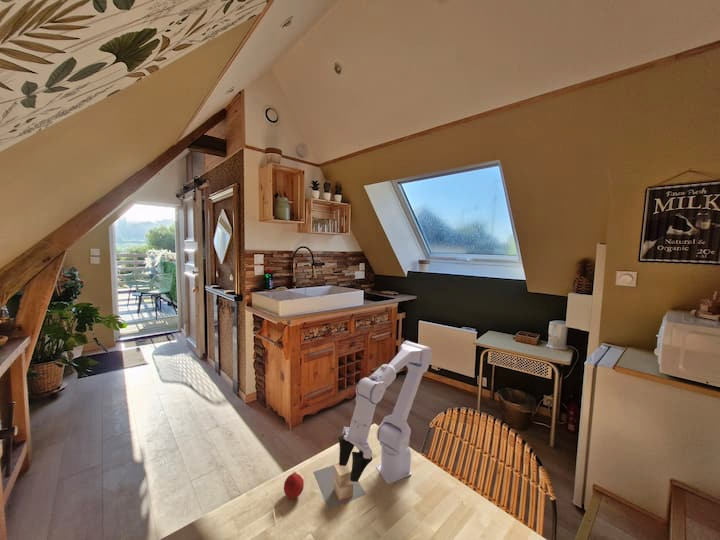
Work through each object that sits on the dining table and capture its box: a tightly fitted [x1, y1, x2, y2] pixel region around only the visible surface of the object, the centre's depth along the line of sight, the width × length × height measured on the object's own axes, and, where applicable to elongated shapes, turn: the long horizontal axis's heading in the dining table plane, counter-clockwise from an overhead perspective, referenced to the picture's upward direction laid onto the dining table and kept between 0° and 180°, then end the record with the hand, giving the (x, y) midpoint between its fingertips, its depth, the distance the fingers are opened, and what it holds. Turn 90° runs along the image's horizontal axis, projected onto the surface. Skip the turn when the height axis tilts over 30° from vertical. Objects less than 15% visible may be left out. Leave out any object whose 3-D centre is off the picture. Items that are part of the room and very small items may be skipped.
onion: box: [283, 471, 305, 500], centre depth 87 cm, size 6×6×8 cm
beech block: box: [333, 461, 353, 501], centre depth 88 cm, size 4×4×8 cm
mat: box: [313, 462, 367, 510], centre depth 92 cm, size 12×15×1 cm
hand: (347, 472), depth 81 cm, fingers open, 7 cm apart
